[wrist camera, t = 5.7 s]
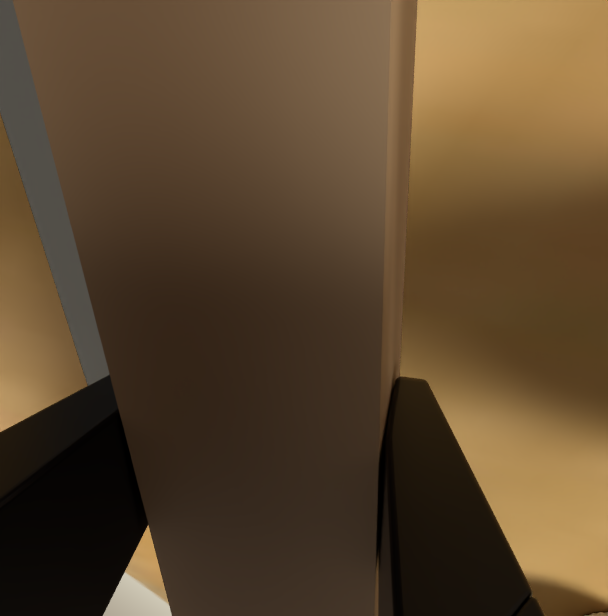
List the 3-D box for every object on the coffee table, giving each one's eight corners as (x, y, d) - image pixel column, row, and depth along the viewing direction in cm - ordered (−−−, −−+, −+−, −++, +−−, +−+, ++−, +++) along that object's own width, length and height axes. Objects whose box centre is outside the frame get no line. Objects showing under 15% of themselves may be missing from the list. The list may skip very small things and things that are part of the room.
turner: (526, -145, 6) (582, -262, 3) (421, 748, 14) (414, 912, 12) (84, -99, 7) (-145, -159, 4) (237, 702, 15) (193, 842, 13)
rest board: (183, -465, 11) (146, -519, 9) (269, 403, 22) (258, 429, 21) (-111, -396, 12) (-176, -435, 11) (113, 383, 24) (94, 406, 23)
